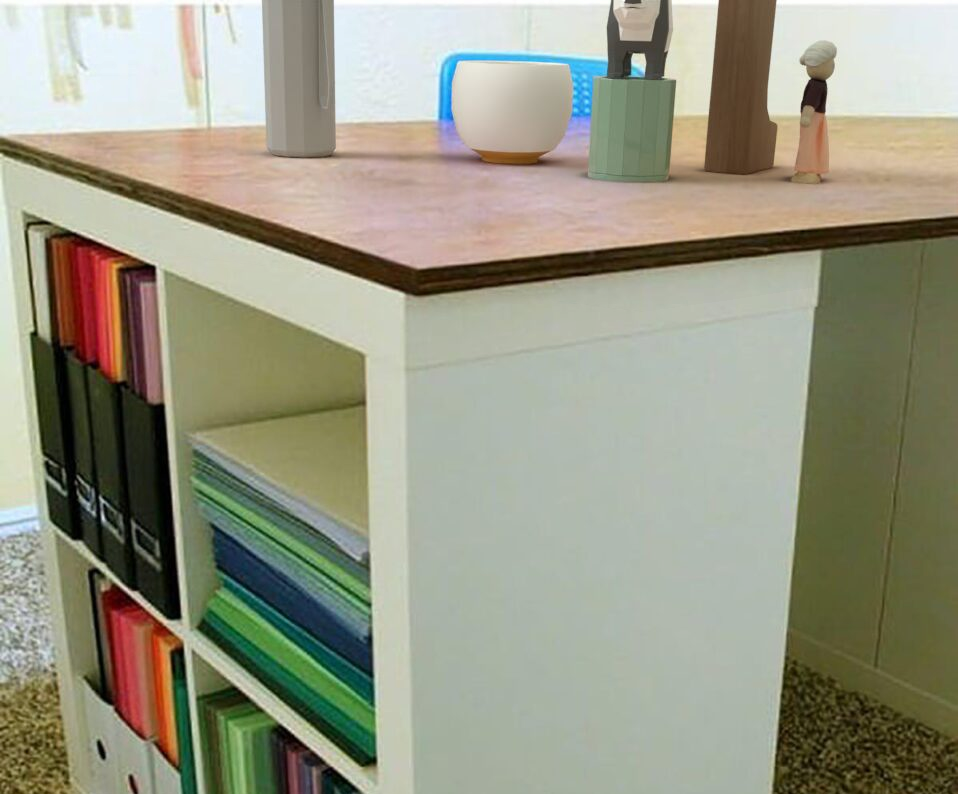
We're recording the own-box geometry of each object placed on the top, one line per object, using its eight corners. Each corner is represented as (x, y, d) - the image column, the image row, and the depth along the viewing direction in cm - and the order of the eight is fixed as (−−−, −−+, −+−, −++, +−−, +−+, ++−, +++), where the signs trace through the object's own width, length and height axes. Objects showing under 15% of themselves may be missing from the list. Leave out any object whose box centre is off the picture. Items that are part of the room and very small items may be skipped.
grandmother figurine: (831, 186, 120) (848, 41, 116) (789, 184, 121) (804, 40, 116) (823, 177, 128) (840, 40, 123) (784, 175, 128) (798, 39, 124)
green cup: (678, 177, 124) (686, 78, 121) (653, 185, 118) (660, 81, 115) (604, 171, 127) (610, 75, 124) (575, 178, 121) (580, 77, 118)
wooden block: (733, 164, 136) (750, -20, 130) (774, 168, 134) (794, -19, 128) (702, 172, 129) (719, -23, 123) (745, 175, 127) (765, -23, 120)
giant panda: (613, 74, 126) (619, -32, 122) (670, 76, 125) (678, -31, 121) (595, 80, 112) (602, -39, 109) (659, 82, 111) (668, -38, 108)
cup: (425, 159, 133) (426, 60, 130) (508, 153, 142) (511, 60, 138) (512, 171, 125) (516, 65, 122) (594, 163, 134) (599, 65, 130)
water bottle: (249, 154, 134) (239, -113, 125) (312, 150, 139) (306, -106, 130) (300, 162, 128) (294, -118, 119) (364, 158, 133) (362, -111, 124)
